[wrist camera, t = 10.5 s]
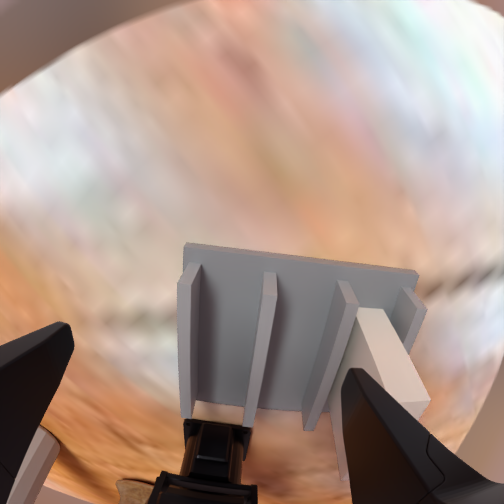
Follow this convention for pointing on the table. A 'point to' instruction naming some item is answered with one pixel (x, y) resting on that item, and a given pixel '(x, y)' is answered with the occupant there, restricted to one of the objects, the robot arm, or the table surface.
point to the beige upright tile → (376, 371)
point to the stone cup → (133, 491)
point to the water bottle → (34, 467)
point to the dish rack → (277, 326)
